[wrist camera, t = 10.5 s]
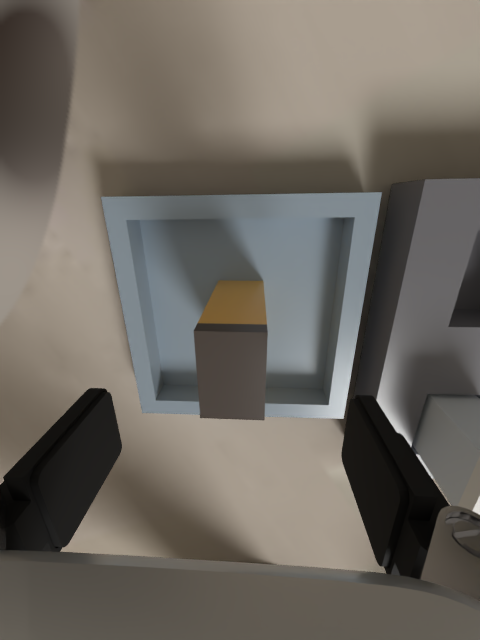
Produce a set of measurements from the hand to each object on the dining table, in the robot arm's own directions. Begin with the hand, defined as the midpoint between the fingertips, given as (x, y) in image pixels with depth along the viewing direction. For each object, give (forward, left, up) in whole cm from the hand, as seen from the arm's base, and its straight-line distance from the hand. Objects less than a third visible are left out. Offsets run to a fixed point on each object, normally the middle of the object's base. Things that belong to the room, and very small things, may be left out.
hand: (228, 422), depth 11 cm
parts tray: (+1, 0, -10) cm, 10 cm away
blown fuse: (+1, 0, -10) cm, 10 cm away
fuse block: (-1, -14, -10) cm, 17 cm away
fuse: (-6, -14, -10) cm, 18 cm away
